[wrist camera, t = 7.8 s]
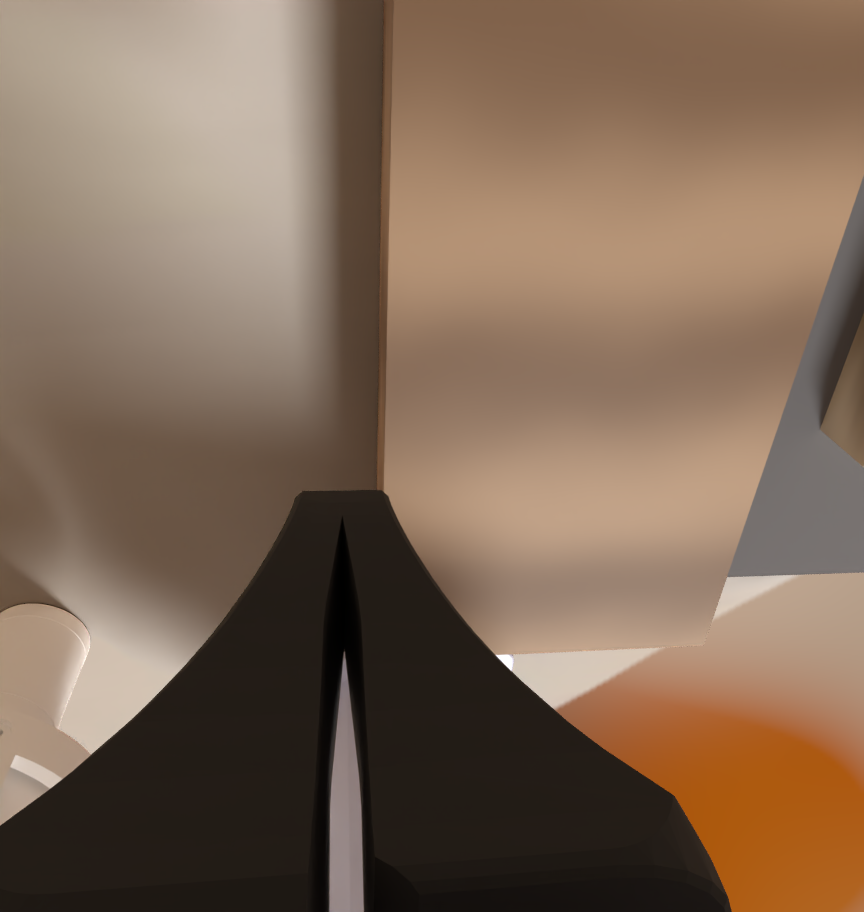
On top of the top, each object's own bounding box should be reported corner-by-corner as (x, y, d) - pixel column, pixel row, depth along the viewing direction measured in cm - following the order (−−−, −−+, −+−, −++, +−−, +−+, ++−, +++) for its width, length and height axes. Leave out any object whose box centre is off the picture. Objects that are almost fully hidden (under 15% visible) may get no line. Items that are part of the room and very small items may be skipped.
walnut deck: (660, 571, 25) (703, 645, 22) (375, 581, 24) (380, 660, 21) (834, -54, 16) (946, -70, 13) (384, -89, 15) (396, -115, 12)
